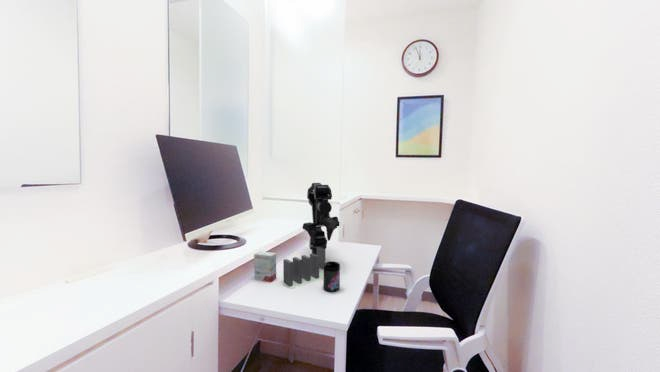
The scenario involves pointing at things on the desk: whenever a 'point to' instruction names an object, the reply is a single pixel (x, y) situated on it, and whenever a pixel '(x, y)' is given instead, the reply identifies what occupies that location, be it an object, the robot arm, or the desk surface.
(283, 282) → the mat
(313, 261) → the domino
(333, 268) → the supplement container
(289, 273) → the domino
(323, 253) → the domino
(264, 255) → the ink box
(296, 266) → the domino
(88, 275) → the desk surface
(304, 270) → the domino
